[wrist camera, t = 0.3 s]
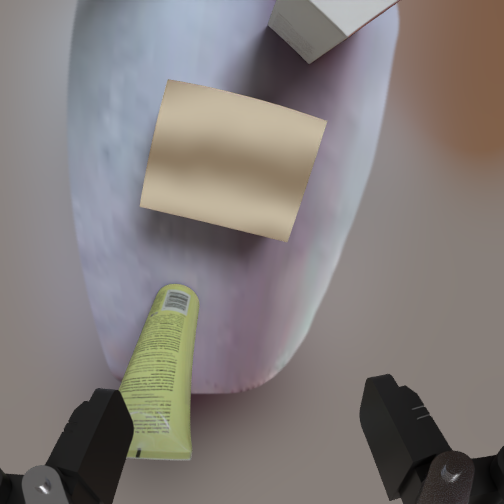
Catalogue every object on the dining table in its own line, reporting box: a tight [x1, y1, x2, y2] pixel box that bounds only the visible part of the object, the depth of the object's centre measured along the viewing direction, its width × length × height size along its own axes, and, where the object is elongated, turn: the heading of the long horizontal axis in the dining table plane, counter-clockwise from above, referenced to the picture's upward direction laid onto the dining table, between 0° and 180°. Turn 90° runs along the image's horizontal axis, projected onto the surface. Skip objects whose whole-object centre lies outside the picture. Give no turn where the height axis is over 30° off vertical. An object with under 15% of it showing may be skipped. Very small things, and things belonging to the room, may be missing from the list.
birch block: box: [140, 79, 327, 242], centre depth 25 cm, size 10×12×6 cm
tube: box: [119, 284, 199, 460], centre depth 25 cm, size 6×5×20 cm
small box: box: [268, 0, 400, 64], centre depth 18 cm, size 8×6×10 cm
